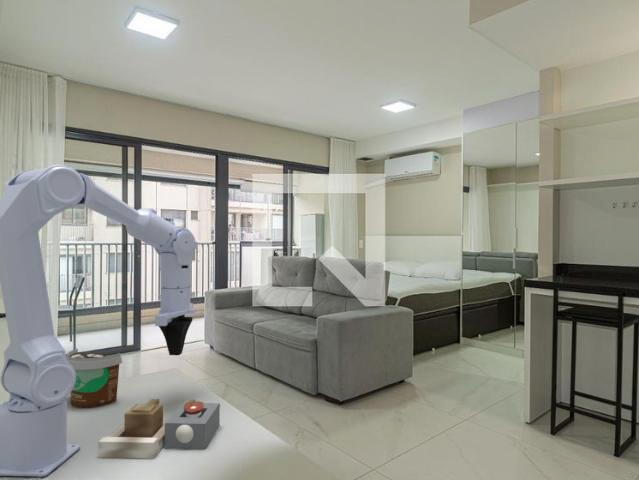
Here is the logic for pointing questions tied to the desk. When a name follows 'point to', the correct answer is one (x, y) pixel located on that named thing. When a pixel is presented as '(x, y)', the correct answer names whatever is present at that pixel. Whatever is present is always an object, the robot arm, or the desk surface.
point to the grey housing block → (192, 428)
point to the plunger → (194, 409)
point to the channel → (132, 443)
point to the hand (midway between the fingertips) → (175, 354)
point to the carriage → (143, 420)
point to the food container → (94, 379)
